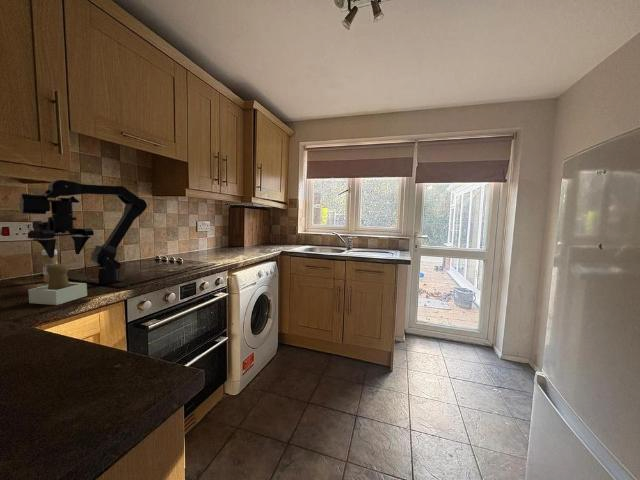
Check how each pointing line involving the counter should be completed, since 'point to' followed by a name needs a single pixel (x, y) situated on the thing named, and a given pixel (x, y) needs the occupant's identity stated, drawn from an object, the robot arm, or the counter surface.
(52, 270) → the cork
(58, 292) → the end cap socket
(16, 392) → the counter surface
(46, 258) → the sprinkles bottle
